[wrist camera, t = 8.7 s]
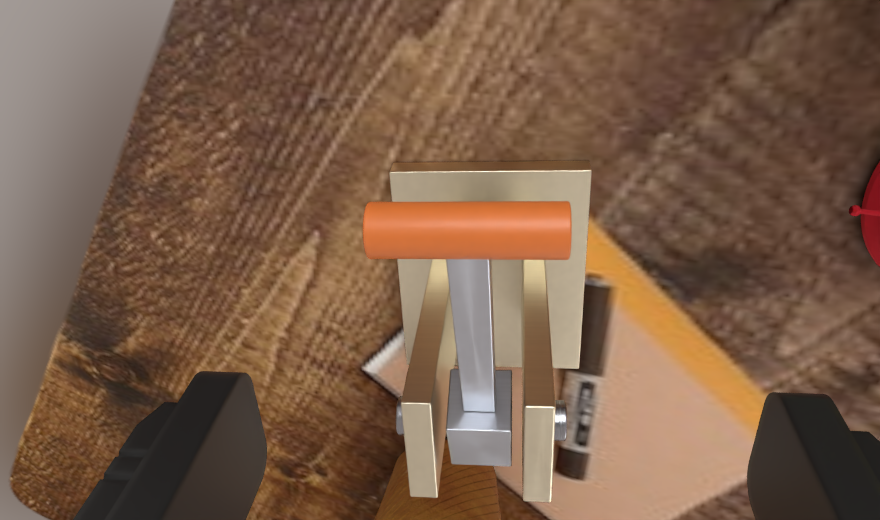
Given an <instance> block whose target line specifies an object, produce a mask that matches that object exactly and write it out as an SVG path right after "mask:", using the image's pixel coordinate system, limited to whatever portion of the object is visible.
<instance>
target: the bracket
mask: <svg viewBox="0 0 880 520" xmlns="http://www.w3.org/2000/svg"><path fill="white" fill-rule="evenodd" d="M389 176H390V187H391V198H392V202H463V201H569V202H570V205H571V217H572V238H571V253H570V258H569V259H568V260H492V287H493V315H494V344H495V367H522V467H523V500H524V501H529V502H551V500H552V479H553V457H554V441H565V440H566V436H567V409H566V402H565V401H564V400H555V390H554V376H553V368H570V369H579V361H580V346H581V330H582V315H583V299H584V284H585V269H586V253H587V238H588V222H589V207H590V191H591V176H592V170H591V165H590V161H491V162H394V163H393V165H392V167H391V169H390V172H389ZM397 263H398V274H399V285H400V296H401V306H402V317H403V328H404V339H405V350H406V361H407V365H409V368H408V373H407V377H406V382H405V387H404V391H403V396H400V397H399V399H398V402H397V408H396V430H397V434H398V435H404V439H405V449H406V459H407V469H408V479H409V489H410V496H411V497H432V498H437V497H438V491H439V483H440V475H441V467H442V460H443V452H444V444H445V436H446V420H447V407H448V394H449V380H450V370H451V369H454V366H458V361H457V352H456V343H455V334H454V326H453V317H452V308H451V299H450V291H449V282H448V273H447V264H446V259H397Z"/></svg>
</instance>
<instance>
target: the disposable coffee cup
mask: <svg viewBox="0 0 880 520" xmlns="http://www.w3.org/2000/svg"><path fill="white" fill-rule="evenodd" d="M497 494H498V490H497V481H496V474H495V470H494V468H493V466H486V465H460V464H452V463H451V458H450V452H449V446H448V440H445V444H444V452H443V460H442V467H441V475H440V483H439V491H438V497H437V498H432V497H411V496H410V489H409V479H408V469H407V459H406V450H405V451H404V452H403V453H402V454H401V455H400V456H399V458H398V459H397V461H396V464H395V466H394V469H393V472H392V475H391V477H390V480H389V483H388V486H387V488H386V491H385V494H384V496H383V499H382V502H381V504H380V507H379V510H378V512H377V515H376V518H375V520H501V515H500V512H499V511H500V506H499V498H498V495H497Z"/></svg>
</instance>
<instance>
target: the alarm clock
mask: <svg viewBox="0 0 880 520" xmlns="http://www.w3.org/2000/svg"><path fill="white" fill-rule="evenodd" d="M849 214H850V215H852V216H858V215H859V214H861V229H862V235H863V238H864V242H865V245H866V247H867V249H868V252H869V253H870V255H871V257H872V258H873V260H874V261H875V262H876V264H877V265H878V266H879V267H880V162H879V163H878V165H877V166H876V168H875V170H874V172H873V174H872V176H871V178H870V181H869V183H868V185H867V188H866V192H865V195H864V198H863V202H862V209H861V208H860V206H857V205H853V206H851V207H850V208H849Z"/></svg>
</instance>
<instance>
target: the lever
mask: <svg viewBox="0 0 880 520" xmlns="http://www.w3.org/2000/svg"><path fill="white" fill-rule="evenodd" d="M571 238H572V217H571V205H570V202H569V201H463V202H369V203H367V205H366V208H365V211H364V218H363V242H364V249H365V253H366V255H367V257H368V258H369V259H446V264H447V273H448V282H449V291H450V299H451V308H452V317H453V326H454V334H455V343H456V352H457V361H458V369H451V370H450V380H449V394H448V407H447V420H446V434H447V440H448V446H449V452H450V458H451V463H452V464H460V465H486V466H511V465H512V371H511V370H495V344H494V315H493V287H492V260H568V259H569V258H570V253H571Z"/></svg>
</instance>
